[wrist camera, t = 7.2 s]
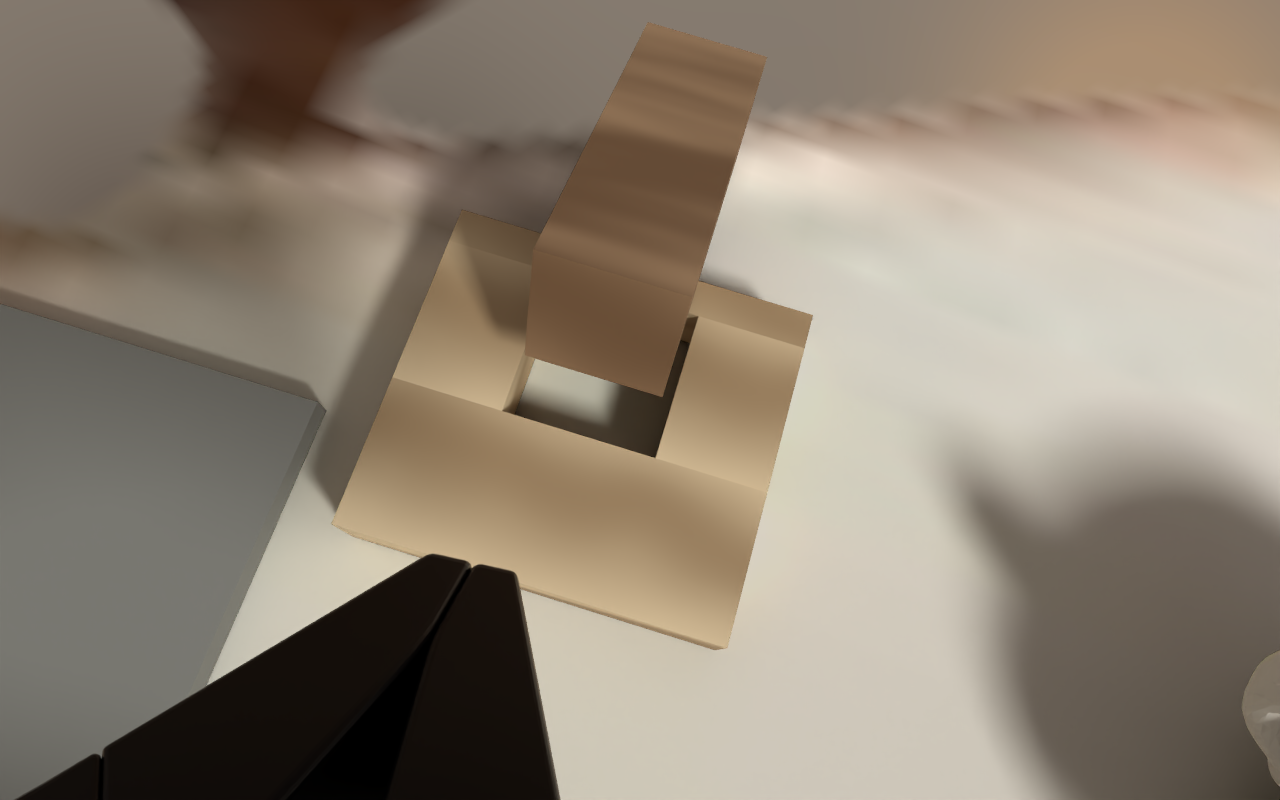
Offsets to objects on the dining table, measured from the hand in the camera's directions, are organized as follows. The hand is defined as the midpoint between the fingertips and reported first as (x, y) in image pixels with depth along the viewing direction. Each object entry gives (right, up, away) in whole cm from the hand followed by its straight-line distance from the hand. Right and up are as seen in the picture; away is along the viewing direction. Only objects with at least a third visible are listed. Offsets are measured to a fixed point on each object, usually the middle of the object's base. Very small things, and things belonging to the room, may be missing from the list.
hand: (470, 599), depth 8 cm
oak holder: (0, +1, +16) cm, 16 cm away
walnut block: (+2, +7, +14) cm, 16 cm away
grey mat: (-14, -2, +14) cm, 20 cm away
